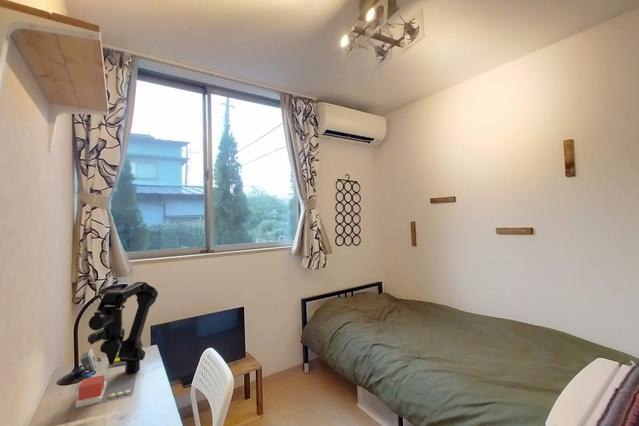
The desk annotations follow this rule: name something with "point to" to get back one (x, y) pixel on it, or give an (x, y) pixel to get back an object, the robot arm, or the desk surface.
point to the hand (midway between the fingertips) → (113, 360)
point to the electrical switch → (89, 361)
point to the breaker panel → (109, 393)
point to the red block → (91, 387)
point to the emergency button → (117, 362)
